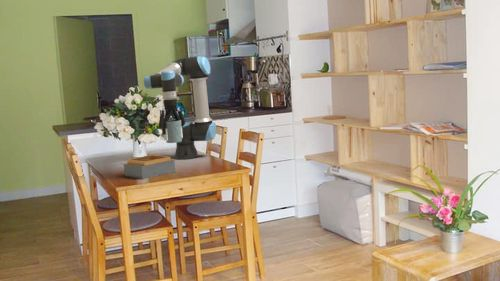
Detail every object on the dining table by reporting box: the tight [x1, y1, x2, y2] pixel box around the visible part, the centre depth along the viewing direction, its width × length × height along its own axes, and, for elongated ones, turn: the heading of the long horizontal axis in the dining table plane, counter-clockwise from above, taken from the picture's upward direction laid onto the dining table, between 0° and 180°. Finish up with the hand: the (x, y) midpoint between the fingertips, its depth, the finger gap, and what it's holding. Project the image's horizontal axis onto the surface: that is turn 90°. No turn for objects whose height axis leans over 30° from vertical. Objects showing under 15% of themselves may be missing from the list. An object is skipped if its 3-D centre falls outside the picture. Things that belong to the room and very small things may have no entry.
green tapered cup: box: [165, 119, 182, 144], centre depth 318 cm, size 10×10×12 cm
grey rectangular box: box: [123, 154, 176, 180], centre depth 324 cm, size 26×18×9 cm
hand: (173, 138), depth 319 cm, fingers closed on green tapered cup, 10 cm apart
